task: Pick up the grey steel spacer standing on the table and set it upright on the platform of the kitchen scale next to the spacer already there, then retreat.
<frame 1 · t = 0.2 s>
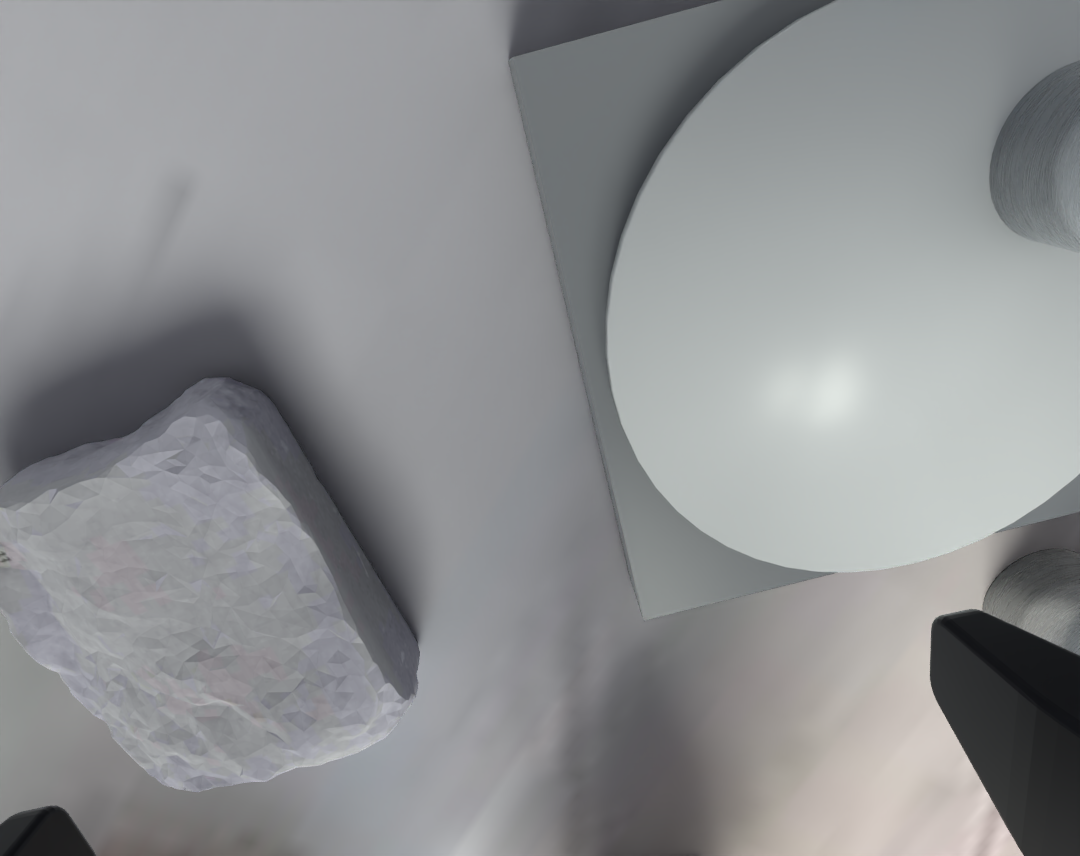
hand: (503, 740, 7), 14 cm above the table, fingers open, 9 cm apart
stone block: (218, 570, 24), on the table
placed spacer: (1074, 154, 17), point 3 cm above the table, touching scale
steel spacer: (1037, 596, 26), on the table
scale: (851, 291, 21), on the table
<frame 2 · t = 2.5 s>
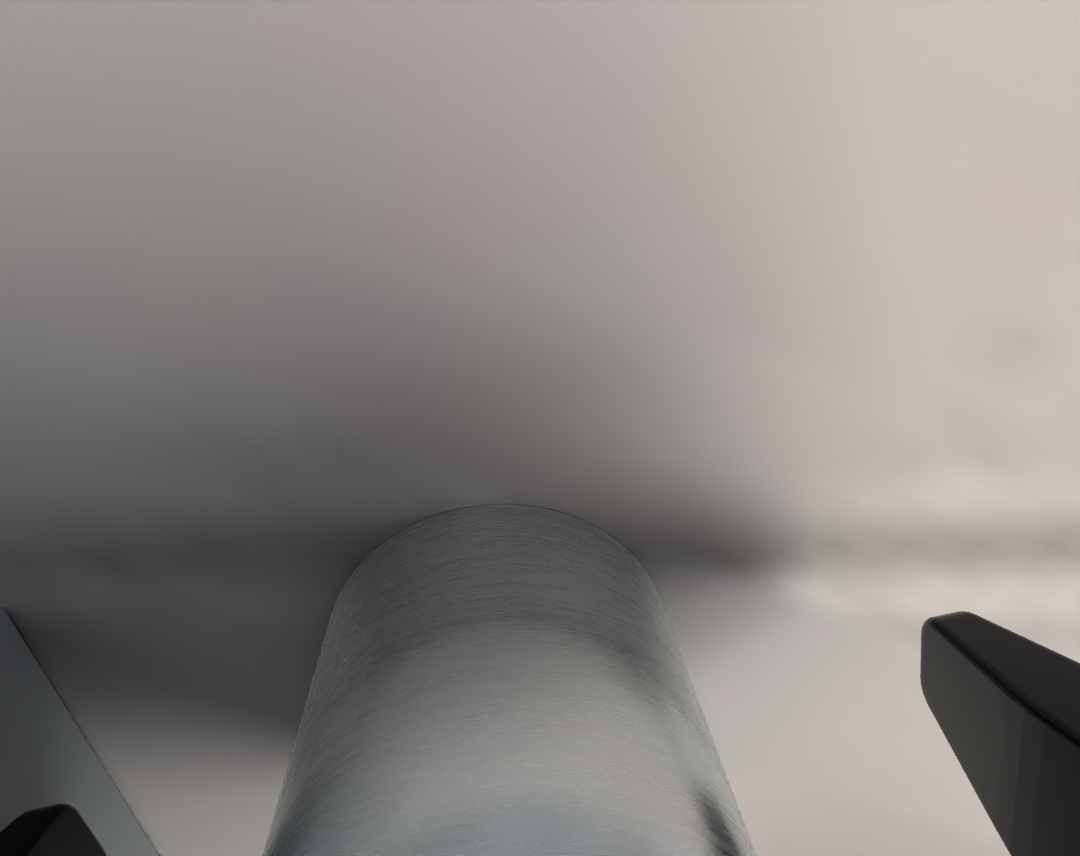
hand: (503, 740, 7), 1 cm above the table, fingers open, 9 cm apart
steel spacer: (499, 651, 9), on the table
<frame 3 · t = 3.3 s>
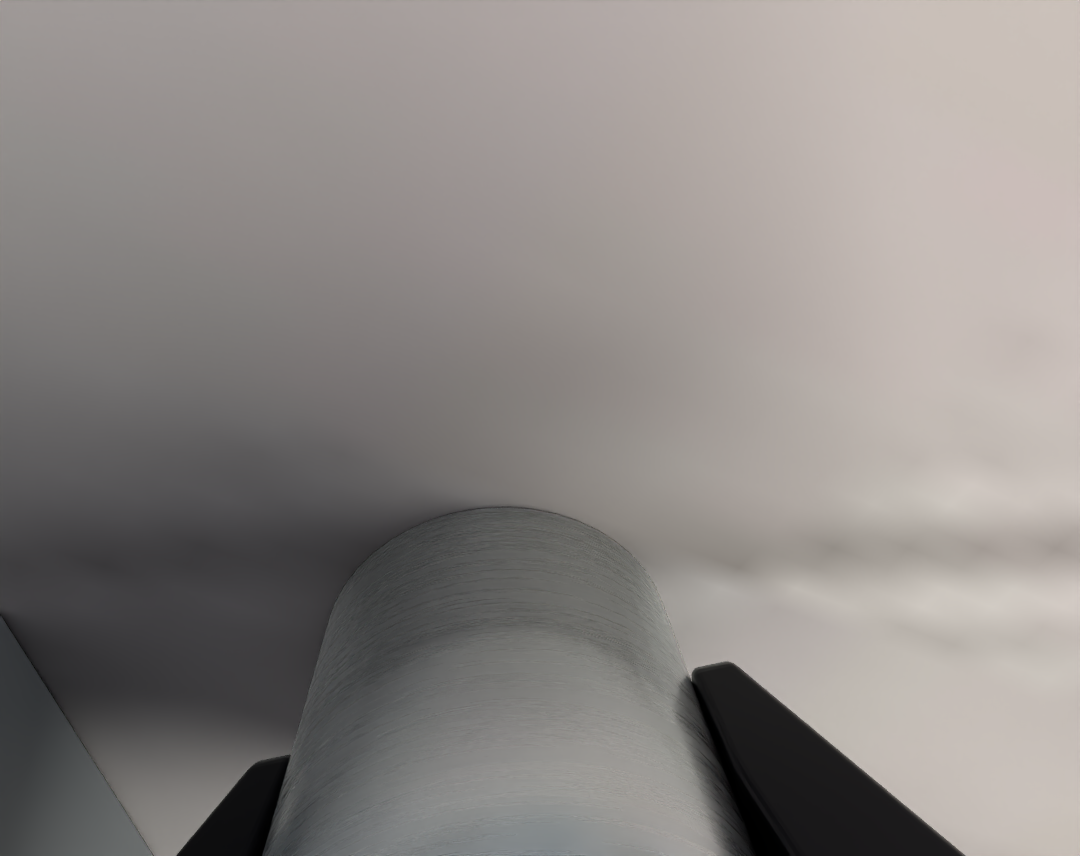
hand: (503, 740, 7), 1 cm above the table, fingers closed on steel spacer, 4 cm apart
steel spacer: (499, 655, 9), on the table, touching gripper
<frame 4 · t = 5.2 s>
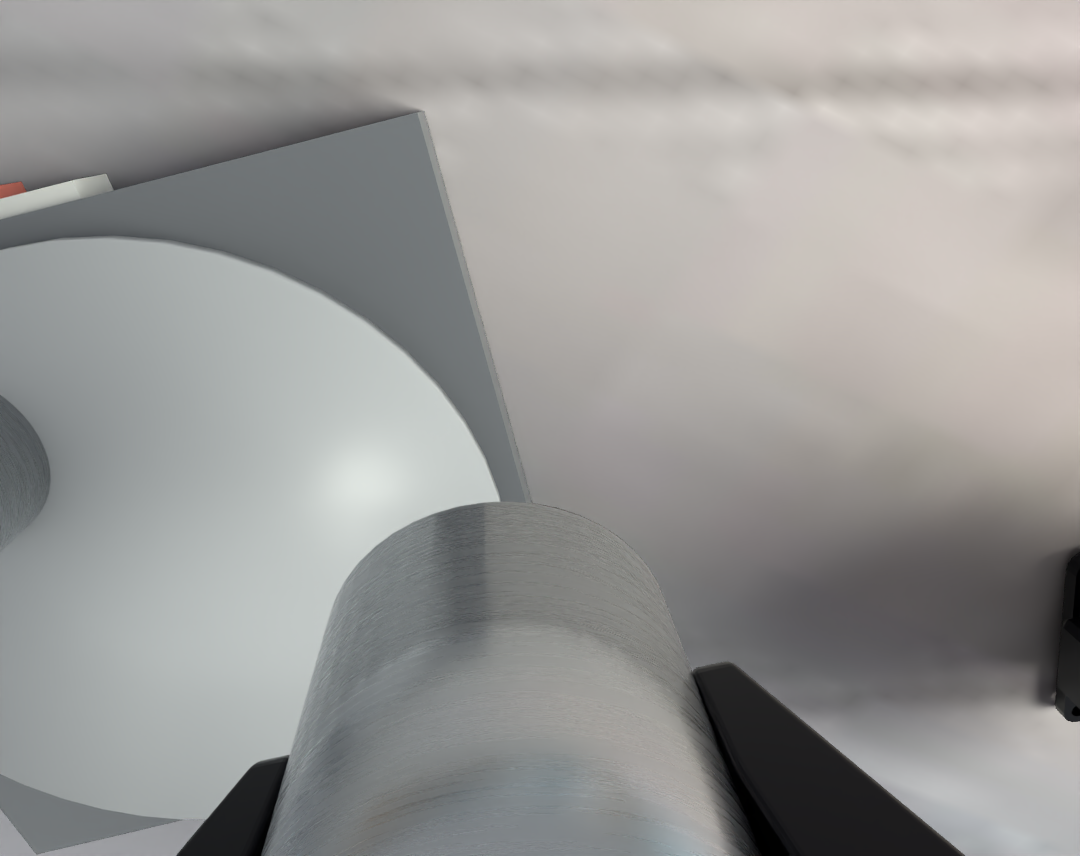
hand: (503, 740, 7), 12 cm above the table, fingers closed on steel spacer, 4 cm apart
steel spacer: (500, 650, 9), point 10 cm above the table, touching gripper
scale: (216, 514, 19), on the table
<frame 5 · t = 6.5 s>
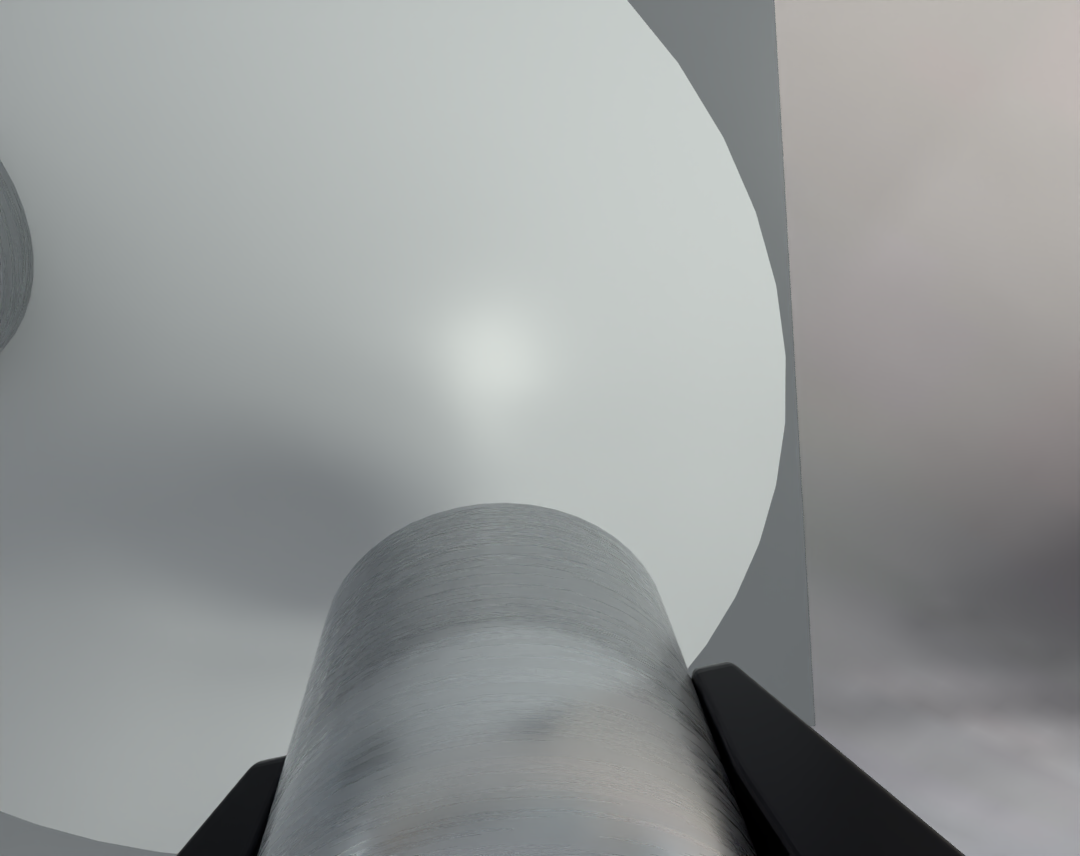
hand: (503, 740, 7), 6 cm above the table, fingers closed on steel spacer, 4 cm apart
steel spacer: (498, 652, 9), point 5 cm above the table, touching gripper
scale: (286, 394, 13), on the table
when the fingers open (6 cm above the table, at t = 7.4 s): steel spacer drops 1 cm, resting on scale.
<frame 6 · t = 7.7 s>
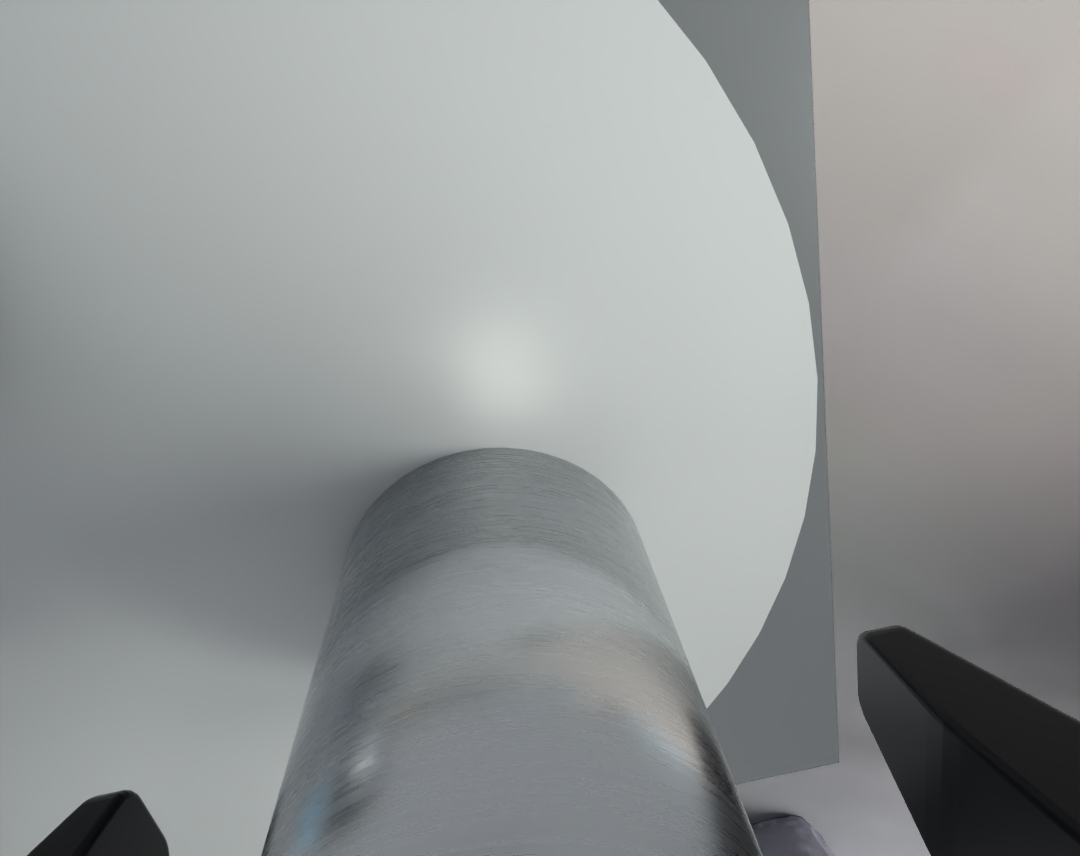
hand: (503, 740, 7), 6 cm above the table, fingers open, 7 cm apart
steel spacer: (497, 582, 10), point 3 cm above the table, touching scale
scale: (278, 413, 12), on the table
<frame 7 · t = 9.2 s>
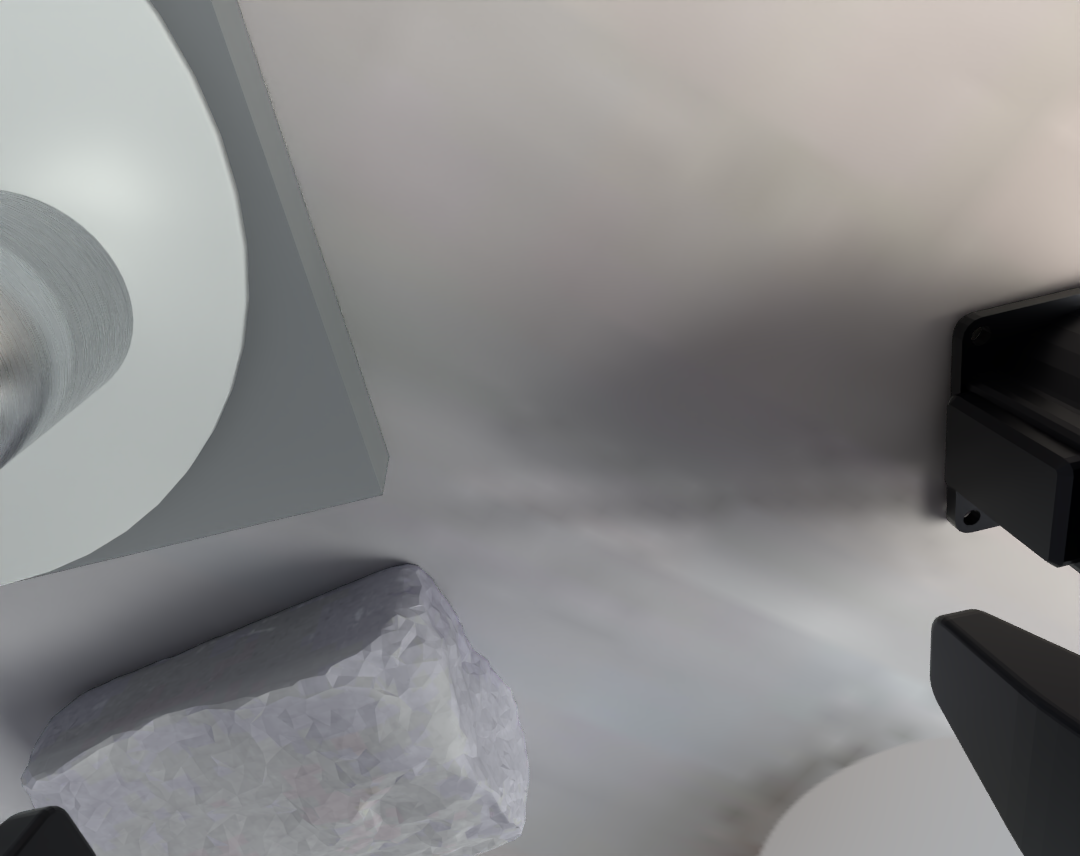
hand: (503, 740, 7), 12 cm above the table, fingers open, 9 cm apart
stone block: (323, 726, 23), on the table
steel spacer: (15, 303, 13), point 3 cm above the table, touching scale
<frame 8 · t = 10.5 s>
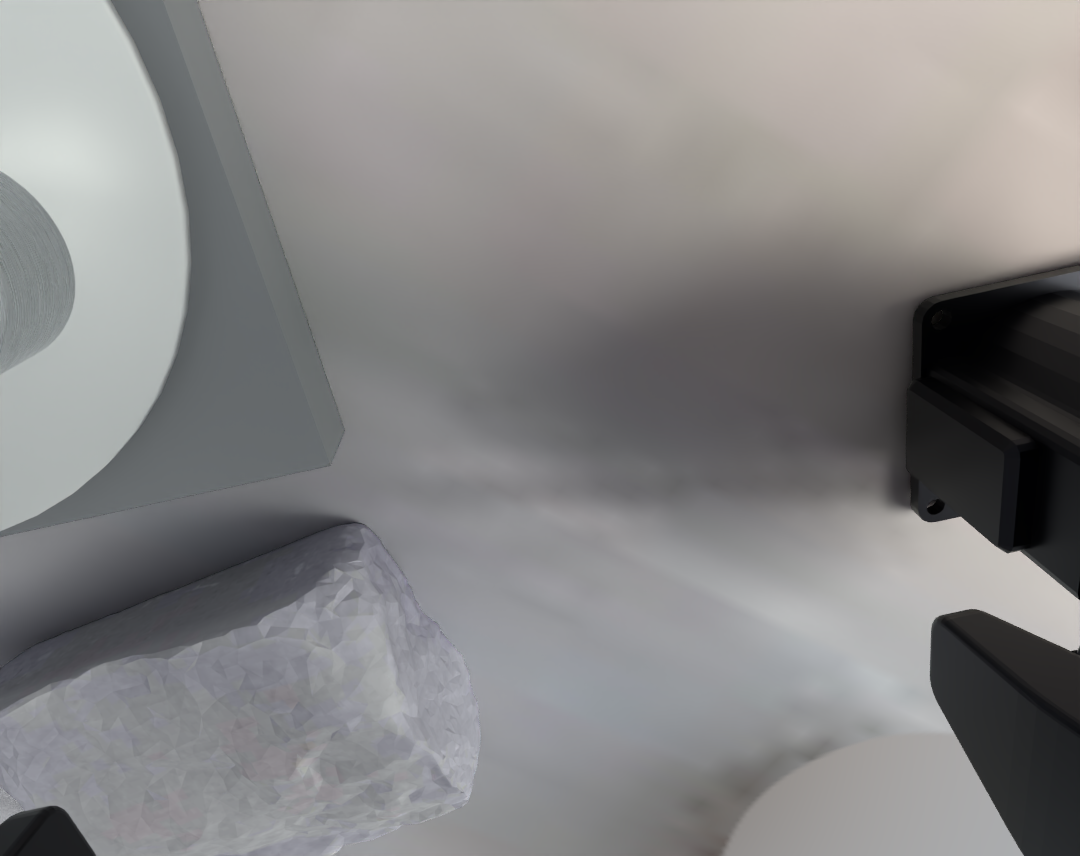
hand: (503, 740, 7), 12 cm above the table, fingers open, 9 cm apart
stone block: (276, 689, 23), on the table
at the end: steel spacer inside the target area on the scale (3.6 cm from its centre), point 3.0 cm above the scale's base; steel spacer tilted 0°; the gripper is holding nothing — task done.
